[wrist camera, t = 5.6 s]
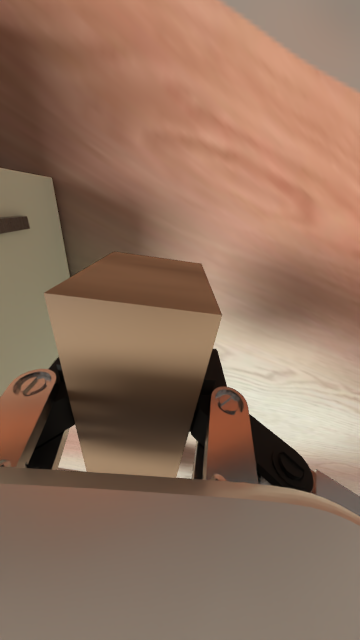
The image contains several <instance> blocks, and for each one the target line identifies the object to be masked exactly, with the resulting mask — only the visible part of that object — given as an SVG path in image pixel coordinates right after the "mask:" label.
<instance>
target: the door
mask: <svg viewBox="0 0 360 640" xmlns="http://www.w3.org/2000/svg"><path fill="white" fill-rule="evenodd" d="M68 278H70V274H69V269H68V263H67V258H66V252H65V247H64V242H63V236H62V231H61V225H60V220H59V214H58V209H57V203H56V198H55V192H54V187H53V181H52V178H51V177H46V176H41V175H35V174H30V173H25V172H20V171H14V170H9V169H4V168H0V396H2V394H3V393H4V391H5V390H6V389H7V387H8V386H9V384H10V383H11V382H12V381H13V380H14V379H15V378H17V377H18V376H20V375H22V374H24V373H26V372H28V371H31V370H35V369H48V368H49V367H50V366H51V365H52V363H53V362H54V361H55V360H56V358H57V357H58V356H59V355H58V351H57V347H56V342H55V338H54V334H53V330H52V326H51V322H50V318H49V313H48V309H47V305H46V301H45V297H44V292H46V291H48V290H49V289H51V288H53V287H55V286H56V285H58V284H60V283H61V282H63V281H65V280H66V279H68Z"/></svg>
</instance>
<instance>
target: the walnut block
mask: <svg viewBox="0 0 360 640" xmlns="http://www.w3.org/2000/svg"><path fill="white" fill-rule="evenodd" d="M44 297H45V301H46V305H47V309H48V313H49V318H50V322H51V326H52V330H53V334H54V338H55V342H56V347H57V351H58V355H59V359H60V363H61V367H62V371H63V375H64V380H65V384H66V388H67V392H68V396H69V400H70V404H71V408H72V413H73V417H74V421H75V425H76V429H77V433H78V437H79V441H80V446H81V450H82V454H83V458H84V462H85V466H86V470H87V472H96V473H112V474H127V475H142V476H157V477H172V478H176V476H177V472H178V469H179V465H180V461H181V458H182V454H183V451H184V447H185V444H186V440H187V437H188V433H189V430H190V426H191V423H192V419H193V416H194V412H195V409H196V405H197V402H198V398H199V395H200V391H201V388H202V384H203V381H204V377H205V373H206V370H207V366H208V363H209V359H210V356H211V352H212V349H213V345H214V342H215V338H216V335H217V331H218V328H219V324H220V321H221V317H222V314H221V311H220V309H219V306H218V304H217V301H216V299H215V296H214V294H213V291H212V289H211V286H210V284H209V282H208V279H207V277H206V274H205V272H204V269H203V267H202V264H199V263H192V262H185V261H178V260H171V259H164V258H157V257H149V256H142V255H135V254H128V253H121V252H112V253H111V254H109V255H107V256H106V257H104V258H102V259H100V260H99V261H97V262H95V263H94V264H92V265H90V266H89V267H87V268H85V269H83V270H82V271H80V272H78V273H77V274H75V275H73V276H72V277H70V278H68V279H66V280H65V281H63V282H61V283H60V284H58V285H56V286H55V287H53V288H51V289H49V290H48V291H46V292H44Z"/></svg>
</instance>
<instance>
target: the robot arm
mask: <svg viewBox="0 0 360 640" xmlns="http://www.w3.org/2000/svg"><path fill="white" fill-rule="evenodd" d="M73 425H75V421H74V417H73V413H72V408H71V404H70V400H69V396H68V392H67V388H66V384H65V380H64V375H63V371H62V367H61V363H60V359H59V357H58V358H57V360H56V361H55V362H54V363H53V364H52V366H51V367H50V368H49V369H35V370H31V371H28V372H26V373H24V374H22V375H20V376H18V377H17V378H15V379H14V380H13V381H12V382H11V383H10V384H9V386H8V387H7V389H6V390H5V391H4V393H3V394H2V396H0V640H360V496H358V495H356V494H355V493H353V492H352V491H350V490H349V489H347V488H345V487H344V486H342V485H341V484H339V483H337V482H336V481H334V480H333V479H331V478H330V477H328V476H326V475H325V474H323V473H322V472H320V471H318V470H317V469H316V470H315V471H313V470H311V469H310V468H309V466H308V464H307V463H306V462H305V460H304V459H303V458H302V456H300V455H299V454H298V453H297V452H296V451H295V450H294V449H293V448H291V447H290V446H289V445H288V444H286V443H285V442H284V441H283V440H281V439H280V438H279V437H278V436H276V435H275V434H274V433H273V432H271V431H270V430H269V429H267V428H266V427H265V426H264V425H262V424H261V423H260V422H259V421H257V420H256V419H255V418H254V417H252V416H251V415H250V414H249V410H248V405H247V402H246V400H245V398H244V397H243V396H242V395H241V394H240V393H239V392H238V391H236V390H235V389H233V388H230V387H227V385H226V382H225V378H224V374H223V370H222V366H221V363H220V359H219V355H218V351H217V350H216V349H212V352H211V356H210V359H209V363H208V366H207V370H206V373H205V377H204V381H203V384H202V388H201V391H200V395H199V398H198V402H197V405H196V409H195V412H194V416H193V419H192V423H191V426H190V430H189V432H191V435H192V436H193V437H194V438H195V439H196V448H195V457H194V465H193V474H192V479H186V478H172V477H157V476H142V475H127V474H112V473H96V472H80V471H65V470H57V468H58V465H59V462H60V459H61V455H62V452H63V449H64V445H65V442H66V439H67V436H68V432H69V428H70V427H72V426H73Z"/></svg>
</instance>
